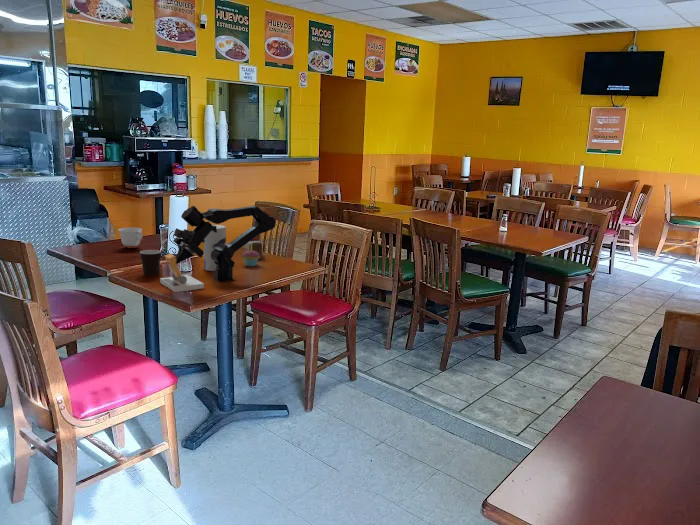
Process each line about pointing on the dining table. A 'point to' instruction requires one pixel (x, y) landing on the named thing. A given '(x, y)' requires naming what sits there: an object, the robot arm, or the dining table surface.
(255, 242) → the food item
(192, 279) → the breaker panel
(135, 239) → the teacup
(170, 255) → the lever
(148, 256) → the coffee mug
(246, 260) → the cupcake
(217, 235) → the container
